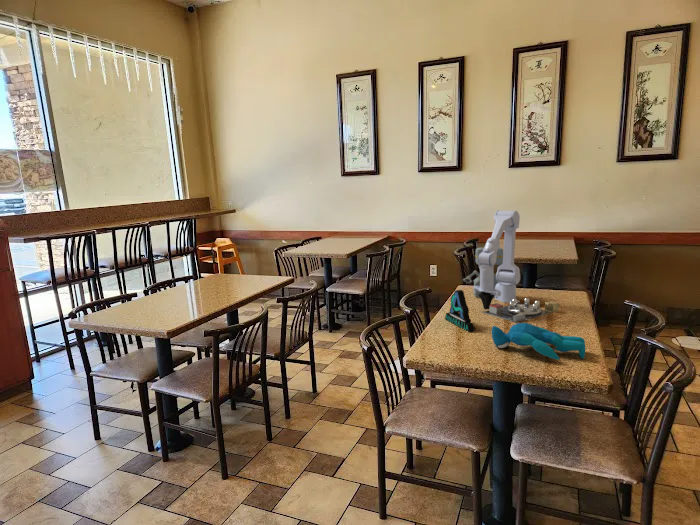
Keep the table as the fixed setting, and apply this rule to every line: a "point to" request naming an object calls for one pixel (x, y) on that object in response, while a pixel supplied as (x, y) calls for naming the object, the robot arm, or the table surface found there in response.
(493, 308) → the red-ended rectangular metal block
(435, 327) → the table surface
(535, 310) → the pinned metal disc
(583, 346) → the toy
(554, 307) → the link block
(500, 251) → the toy
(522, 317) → the base plate
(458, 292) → the decorative sign
